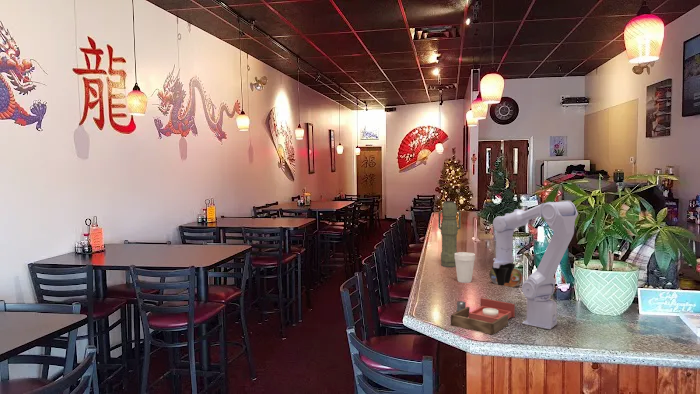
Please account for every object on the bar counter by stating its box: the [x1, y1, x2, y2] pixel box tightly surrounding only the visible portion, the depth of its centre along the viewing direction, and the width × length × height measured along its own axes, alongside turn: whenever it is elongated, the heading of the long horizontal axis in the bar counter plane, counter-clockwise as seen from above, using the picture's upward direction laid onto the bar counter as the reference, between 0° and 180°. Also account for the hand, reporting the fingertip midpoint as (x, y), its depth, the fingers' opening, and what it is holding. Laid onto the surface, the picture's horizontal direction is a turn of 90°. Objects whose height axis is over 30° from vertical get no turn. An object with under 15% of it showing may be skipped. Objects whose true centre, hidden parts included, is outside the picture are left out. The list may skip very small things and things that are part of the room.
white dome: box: [483, 308, 498, 318], centre depth 173 cm, size 5×5×2 cm
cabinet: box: [450, 306, 509, 335], centre depth 166 cm, size 15×12×4 cm
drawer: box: [468, 297, 516, 323], centre depth 173 cm, size 13×12×5 cm
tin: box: [488, 267, 523, 288], centre depth 221 cm, size 15×3×8 cm, turn 45°
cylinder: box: [456, 300, 467, 312], centre depth 182 cm, size 3×3×4 cm
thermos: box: [437, 201, 462, 268], centre depth 263 cm, size 9×12×35 cm
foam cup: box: [455, 251, 476, 284], centre depth 228 cm, size 10×9×13 cm
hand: (503, 283), depth 181 cm, fingers open, 4 cm apart
